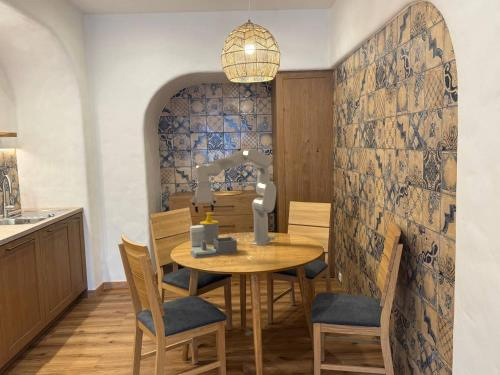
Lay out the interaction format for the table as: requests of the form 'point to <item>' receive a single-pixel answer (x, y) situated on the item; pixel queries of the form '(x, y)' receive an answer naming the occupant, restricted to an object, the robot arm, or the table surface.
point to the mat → (203, 255)
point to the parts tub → (225, 245)
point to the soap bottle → (210, 229)
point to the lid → (203, 249)
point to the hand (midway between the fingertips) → (204, 211)
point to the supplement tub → (197, 235)
